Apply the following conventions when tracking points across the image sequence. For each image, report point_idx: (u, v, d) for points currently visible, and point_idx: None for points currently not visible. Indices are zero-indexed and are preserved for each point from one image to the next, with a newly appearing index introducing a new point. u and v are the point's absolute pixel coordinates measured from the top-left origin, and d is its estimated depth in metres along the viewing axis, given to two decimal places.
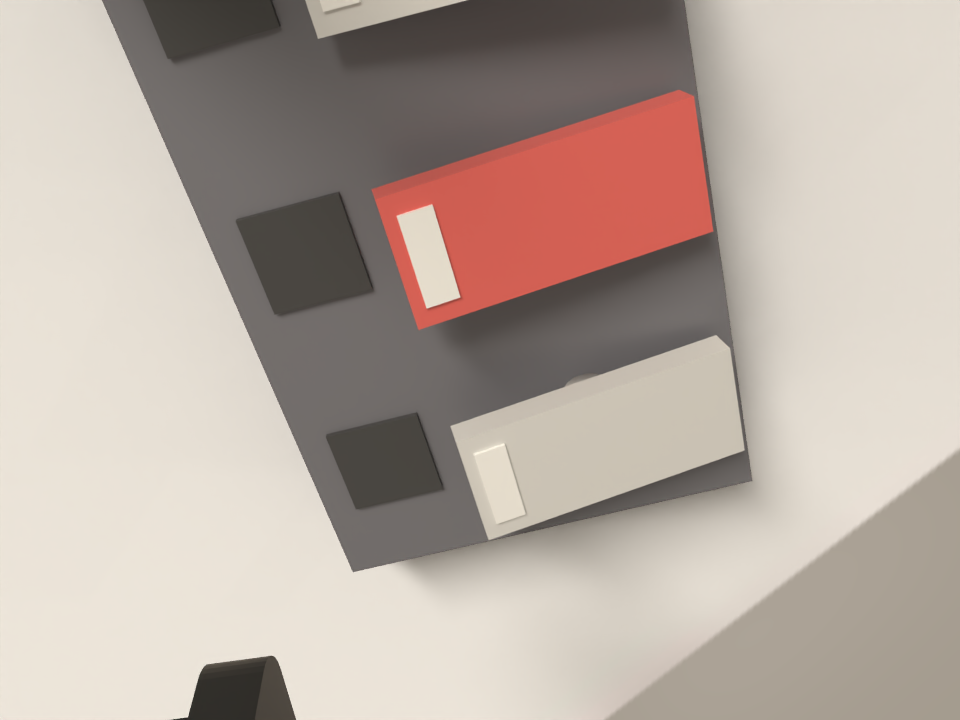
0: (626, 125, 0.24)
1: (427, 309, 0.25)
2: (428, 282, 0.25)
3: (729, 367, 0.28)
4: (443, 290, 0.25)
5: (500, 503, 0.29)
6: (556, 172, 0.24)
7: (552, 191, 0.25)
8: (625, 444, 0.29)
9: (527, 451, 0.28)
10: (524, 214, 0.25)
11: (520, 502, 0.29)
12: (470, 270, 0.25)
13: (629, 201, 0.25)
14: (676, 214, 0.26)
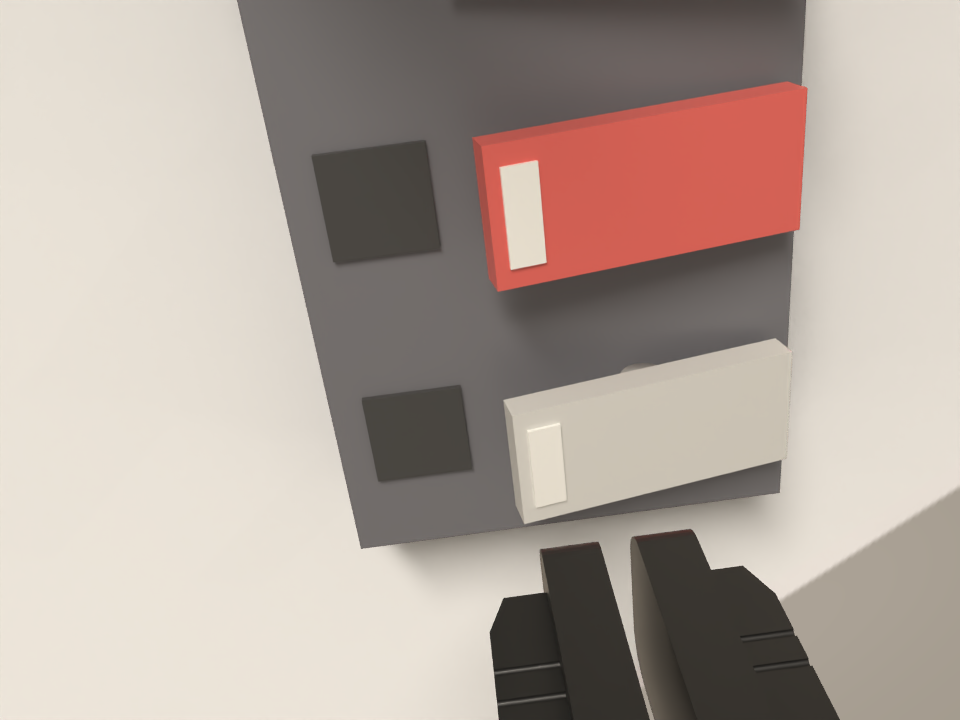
0: (739, 107, 0.24)
1: (510, 271, 0.24)
2: (517, 242, 0.24)
3: (788, 371, 0.28)
4: (530, 252, 0.24)
5: (544, 486, 0.28)
6: (663, 145, 0.24)
7: (656, 164, 0.24)
8: (676, 439, 0.28)
9: (580, 434, 0.27)
10: (624, 184, 0.24)
11: (563, 487, 0.28)
12: (561, 235, 0.24)
13: (727, 186, 0.25)
14: (768, 206, 0.25)
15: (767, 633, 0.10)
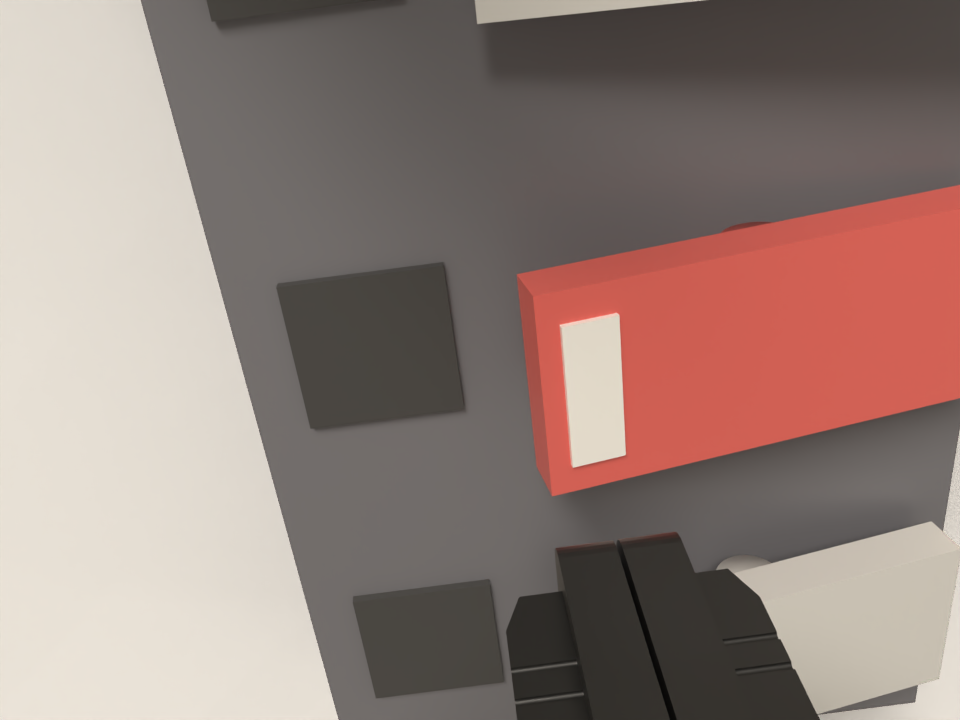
0: (922, 226, 0.16)
1: (571, 468, 0.16)
2: (582, 428, 0.16)
3: (953, 573, 0.20)
4: (602, 443, 0.16)
5: None
6: (807, 284, 0.16)
7: (794, 312, 0.16)
8: (793, 666, 0.20)
9: None
10: (746, 341, 0.16)
11: None
12: (648, 416, 0.16)
13: (894, 337, 0.17)
14: (950, 362, 0.17)
15: (751, 636, 0.09)
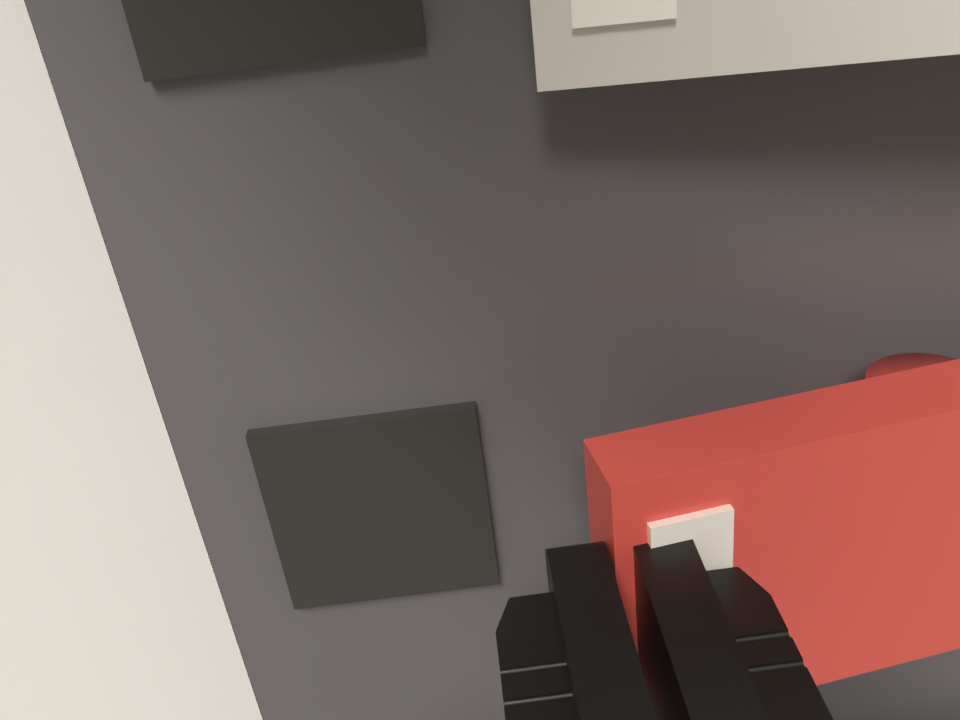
0: None
1: None
2: None
3: None
4: None
5: None
6: None
7: None
8: None
9: None
10: (907, 533, 0.11)
11: None
12: None
13: None
14: None
15: (762, 634, 0.10)
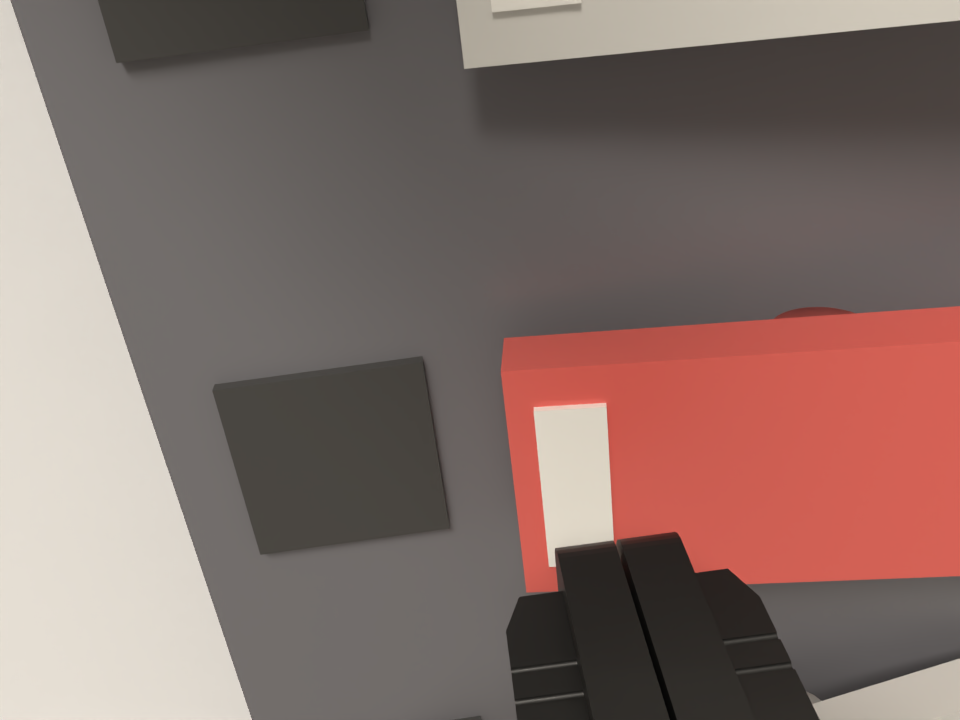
0: None
1: (550, 566, 0.14)
2: (564, 526, 0.14)
3: None
4: None
5: None
6: (866, 402, 0.12)
7: (846, 432, 0.12)
8: None
9: None
10: (778, 459, 0.13)
11: None
12: (646, 525, 0.13)
13: None
14: None
15: (750, 636, 0.09)
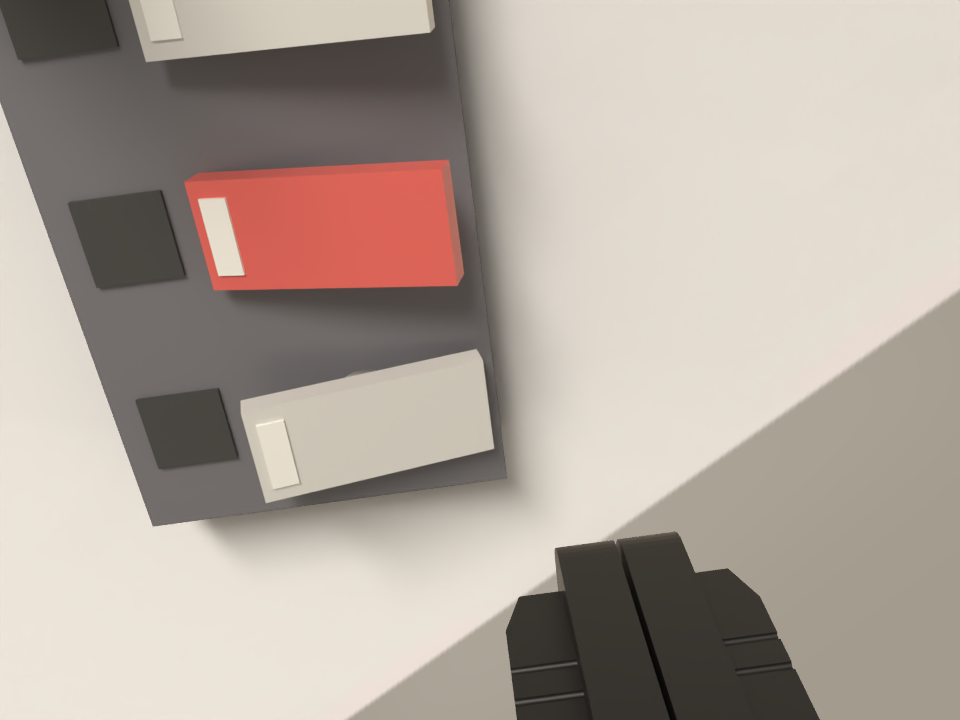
0: (383, 178, 0.29)
1: (220, 276, 0.32)
2: (222, 256, 0.32)
3: (482, 376, 0.34)
4: (230, 266, 0.32)
5: (277, 471, 0.34)
6: (324, 200, 0.30)
7: (320, 214, 0.30)
8: (390, 432, 0.34)
9: (303, 428, 0.33)
10: (297, 225, 0.30)
11: (295, 472, 0.34)
12: (254, 256, 0.31)
13: (384, 240, 0.30)
14: (425, 262, 0.30)
15: (751, 636, 0.09)
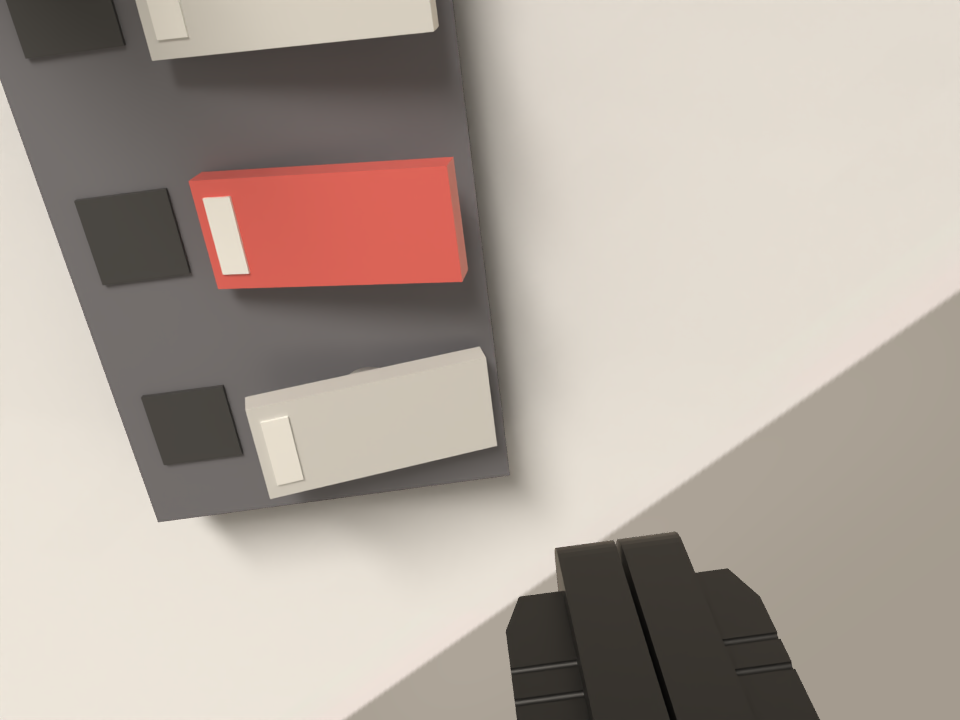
0: (388, 175, 0.29)
1: (225, 275, 0.32)
2: (226, 255, 0.32)
3: (485, 373, 0.34)
4: (235, 264, 0.32)
5: (281, 467, 0.34)
6: (329, 197, 0.30)
7: (325, 211, 0.30)
8: (394, 429, 0.34)
9: (307, 425, 0.33)
10: (302, 223, 0.31)
11: (299, 468, 0.34)
12: (259, 255, 0.31)
13: (389, 237, 0.30)
14: (430, 258, 0.30)
15: (750, 636, 0.09)
